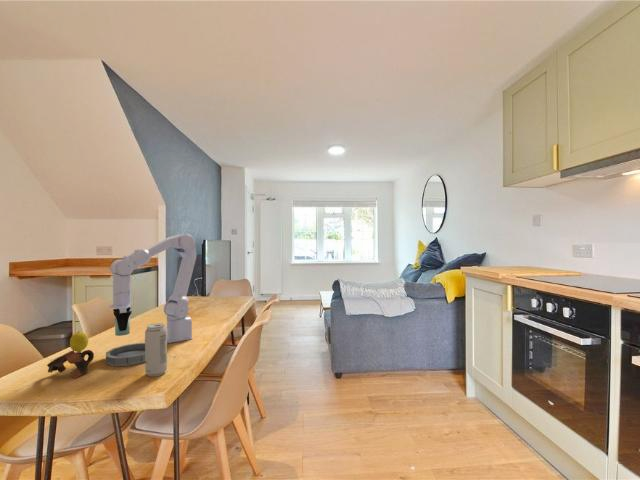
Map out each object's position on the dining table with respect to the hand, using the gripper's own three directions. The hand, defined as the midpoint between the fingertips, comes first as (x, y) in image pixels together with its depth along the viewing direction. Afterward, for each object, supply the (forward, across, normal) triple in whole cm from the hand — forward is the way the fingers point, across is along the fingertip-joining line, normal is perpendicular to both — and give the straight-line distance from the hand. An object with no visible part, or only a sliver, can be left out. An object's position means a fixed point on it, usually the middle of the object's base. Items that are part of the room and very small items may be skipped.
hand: (122, 328), depth 121 cm
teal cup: (+2, 0, 0) cm, 2 cm away
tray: (+9, +8, +3) cm, 12 cm away
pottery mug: (+9, +13, -14) cm, 21 cm away
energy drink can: (+9, +28, +8) cm, 30 cm away
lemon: (+9, -10, -14) cm, 19 cm away
